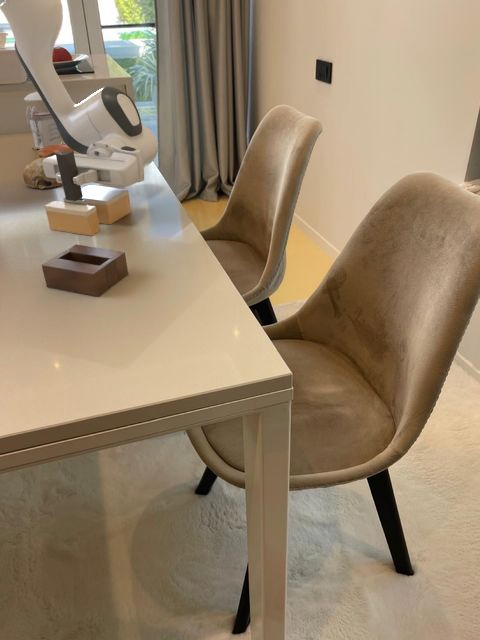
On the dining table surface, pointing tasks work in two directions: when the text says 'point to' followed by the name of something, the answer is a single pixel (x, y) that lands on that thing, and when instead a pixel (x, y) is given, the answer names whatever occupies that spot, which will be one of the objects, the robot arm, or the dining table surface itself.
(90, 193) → the cake
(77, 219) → the cake slice
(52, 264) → the knife block
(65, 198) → the cake knife
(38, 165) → the bread roll
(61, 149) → the burger
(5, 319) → the dining table surface
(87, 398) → the dining table surface
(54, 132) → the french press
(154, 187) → the dining table surface
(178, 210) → the dining table surface
